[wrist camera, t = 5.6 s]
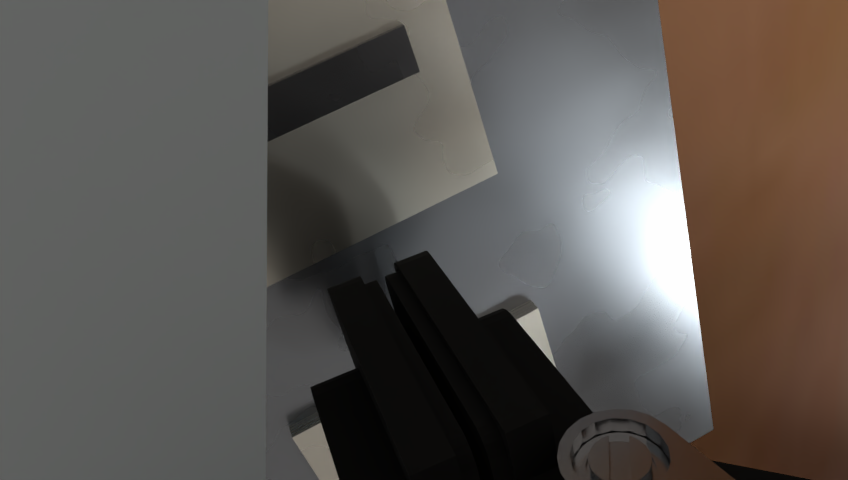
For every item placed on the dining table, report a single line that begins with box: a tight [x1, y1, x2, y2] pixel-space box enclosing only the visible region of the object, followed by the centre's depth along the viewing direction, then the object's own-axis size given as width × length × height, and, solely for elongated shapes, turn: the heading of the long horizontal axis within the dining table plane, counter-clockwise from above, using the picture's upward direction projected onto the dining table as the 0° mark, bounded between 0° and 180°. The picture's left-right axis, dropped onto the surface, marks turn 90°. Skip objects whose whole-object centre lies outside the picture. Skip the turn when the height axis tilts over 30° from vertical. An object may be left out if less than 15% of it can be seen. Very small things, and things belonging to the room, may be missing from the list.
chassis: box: [266, 0, 713, 480], centre depth 13 cm, size 12×19×8 cm, turn 19°
